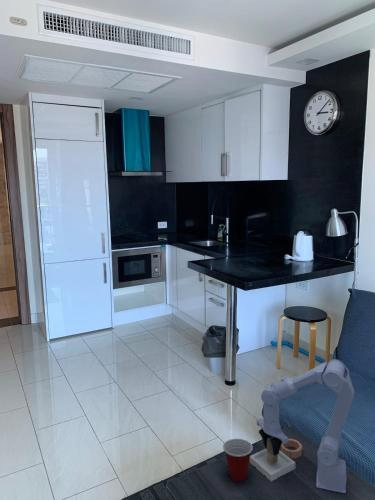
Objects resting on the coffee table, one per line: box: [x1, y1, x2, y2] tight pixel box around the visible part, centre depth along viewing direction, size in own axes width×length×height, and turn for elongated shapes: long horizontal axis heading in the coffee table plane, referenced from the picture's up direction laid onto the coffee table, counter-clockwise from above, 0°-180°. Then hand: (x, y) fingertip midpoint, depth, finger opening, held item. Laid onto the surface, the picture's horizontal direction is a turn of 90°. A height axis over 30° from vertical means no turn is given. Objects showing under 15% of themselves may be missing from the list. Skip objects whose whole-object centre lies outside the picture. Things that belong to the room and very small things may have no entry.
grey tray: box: [249, 448, 296, 482], centre depth 143 cm, size 12×12×2 cm
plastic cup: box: [222, 438, 254, 483], centre depth 138 cm, size 11×11×12 cm
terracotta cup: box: [280, 438, 303, 459], centre depth 150 cm, size 8×8×3 cm
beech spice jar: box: [267, 435, 278, 463], centre depth 142 cm, size 4×4×9 cm
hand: (271, 451), depth 142 cm, fingers closed on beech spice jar, 4 cm apart
